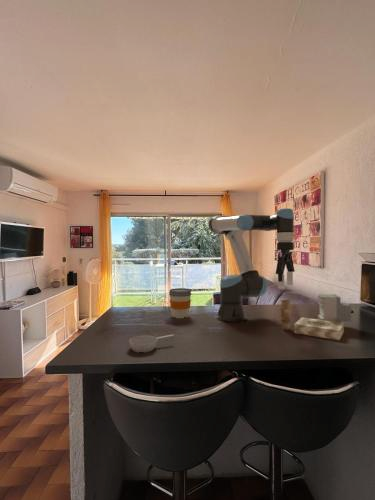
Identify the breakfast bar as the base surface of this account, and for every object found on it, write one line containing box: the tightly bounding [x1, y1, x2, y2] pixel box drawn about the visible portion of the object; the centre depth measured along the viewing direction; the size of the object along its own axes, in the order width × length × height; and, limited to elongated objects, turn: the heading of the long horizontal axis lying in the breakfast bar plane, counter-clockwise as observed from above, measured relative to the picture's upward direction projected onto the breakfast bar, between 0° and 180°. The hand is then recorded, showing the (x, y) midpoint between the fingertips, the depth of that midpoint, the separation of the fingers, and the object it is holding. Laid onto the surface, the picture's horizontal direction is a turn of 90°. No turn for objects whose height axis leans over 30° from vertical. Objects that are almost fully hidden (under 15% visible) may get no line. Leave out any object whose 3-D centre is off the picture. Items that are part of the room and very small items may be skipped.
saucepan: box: [128, 333, 175, 353], centre depth 110 cm, size 11×18×4 cm, turn 114°
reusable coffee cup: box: [168, 287, 192, 319], centre depth 158 cm, size 13×13×15 cm
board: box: [293, 317, 345, 341], centre depth 126 cm, size 18×14×4 cm
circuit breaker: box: [317, 293, 354, 323], centre depth 134 cm, size 8×14×15 cm, turn 78°
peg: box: [280, 298, 291, 331], centre depth 132 cm, size 4×4×14 cm
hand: (285, 286), depth 132 cm, fingers open, 13 cm apart
